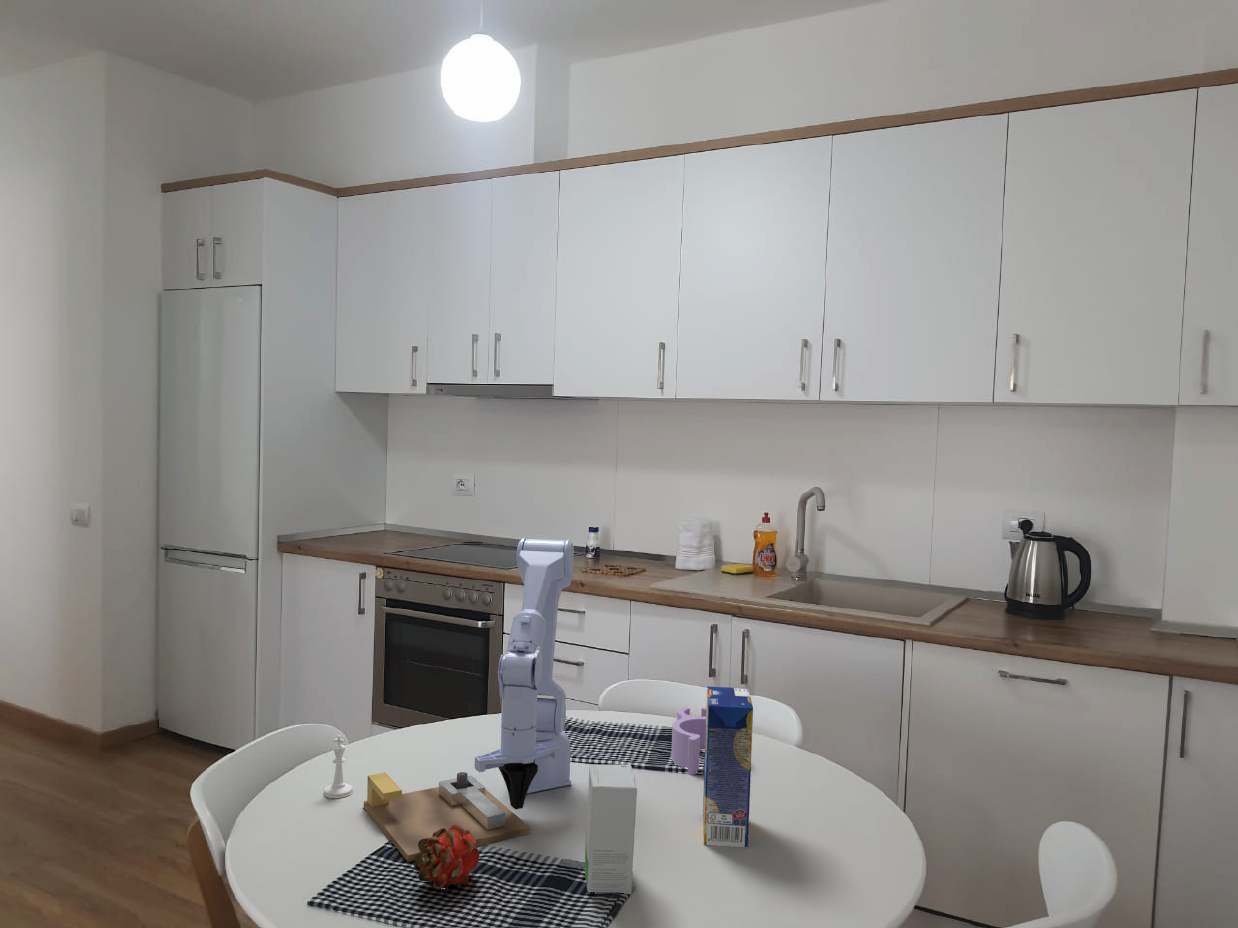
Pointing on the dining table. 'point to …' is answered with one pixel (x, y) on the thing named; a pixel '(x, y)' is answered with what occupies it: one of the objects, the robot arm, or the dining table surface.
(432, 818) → the board
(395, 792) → the block
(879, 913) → the dining table surface
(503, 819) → the link
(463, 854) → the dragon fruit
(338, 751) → the chess piece
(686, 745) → the clip
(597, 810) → the skincare box
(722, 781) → the beverage box
